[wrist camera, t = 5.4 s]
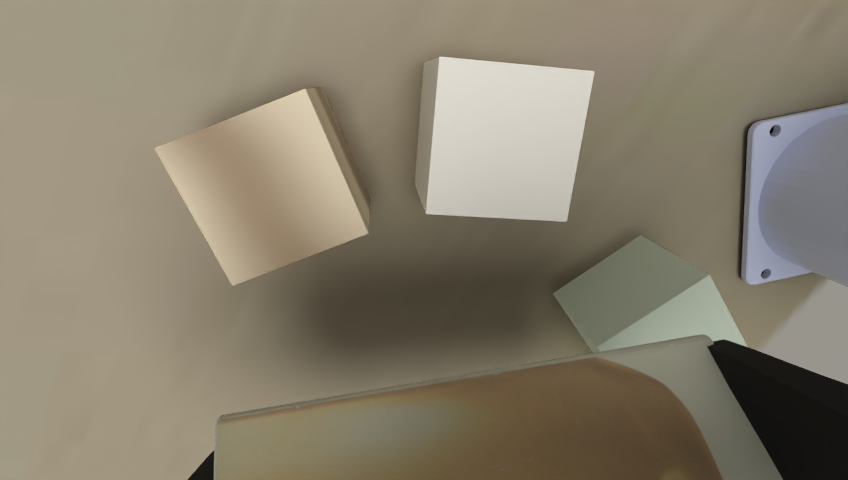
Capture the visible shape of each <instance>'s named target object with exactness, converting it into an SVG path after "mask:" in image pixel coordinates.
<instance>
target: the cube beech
mask: <svg viewBox="0 0 848 480" xmlns="http://www.w3.org/2000/svg"><path fill="white" fill-rule="evenodd" d="M154 149H155V150H156V152H157V154H158V156H159V157H160V159H161V161H162V163H163V164H164V166H165V168H166V170H167V172H168V173H169V175H170V177H171V179H172V180H173V182H174V184H175V186H176V187H177V189H178V191H179V193H180V194H181V196H182V198H183V200H184V201H185V203H186V205H187V207H188V208H189V210H190V212H191V214H192V216H193V217H194V219H195V221H196V223H197V224H198V226H199V228H200V230H201V231H202V233H203V235H204V237H205V238H206V240H207V242H208V244H209V245H210V247H211V249H212V251H213V253H214V254H215V256H216V258H217V260H218V261H219V263H220V265H221V267H222V268H223V270H224V272H225V274H226V275H227V277H228V279H229V281H230V282H231V284H232V286H234V285H236V284H239V283H242V282H244V281H247V280H249V279H252V278H255V277H257V276H260V275H262V274H265V273H268V272H270V271H273V270H275V269H278V268H281V267H283V266H286V265H288V264H291V263H294V262H296V261H299V260H301V259H304V258H306V257H309V256H312V255H314V254H317V253H319V252H322V251H325V250H327V249H330V248H332V247H335V246H338V245H340V244H343V243H345V242H348V241H351V240H353V239H356V238H358V237H361V236H364V235H366V234H368V232H369V213H370V198H369V196H368V193H367V191H366V189H365V186H364V184H363V182H362V179H361V177H360V175H359V172H358V170H357V167H356V165H355V163H354V160H353V158H352V156H351V153H350V151H349V149H348V146H347V144H346V141H345V139H344V137H343V134H342V132H341V130H340V127H339V125H338V123H337V120H336V118H335V115H334V113H333V111H332V108H331V106H330V104H329V101H328V99H327V97H326V94H325V92H324V89H323V87H321V88H306V89H303V90H300V91H298V92H295V93H293V94H290V95H288V96H285V97H283V98H280V99H278V100H275V101H273V102H270V103H267V104H265V105H262V106H260V107H257V108H255V109H252V110H250V111H247V112H245V113H242V114H240V115H237V116H235V117H232V118H230V119H227V120H224V121H222V122H219V123H217V124H214V125H212V126H209V127H207V128H204V129H202V130H199V131H197V132H194V133H192V134H189V135H186V136H184V137H181V138H179V139H176V140H174V141H171V142H169V143H166V144H164V145H161V146H159V147H156V148H154Z"/></svg>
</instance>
